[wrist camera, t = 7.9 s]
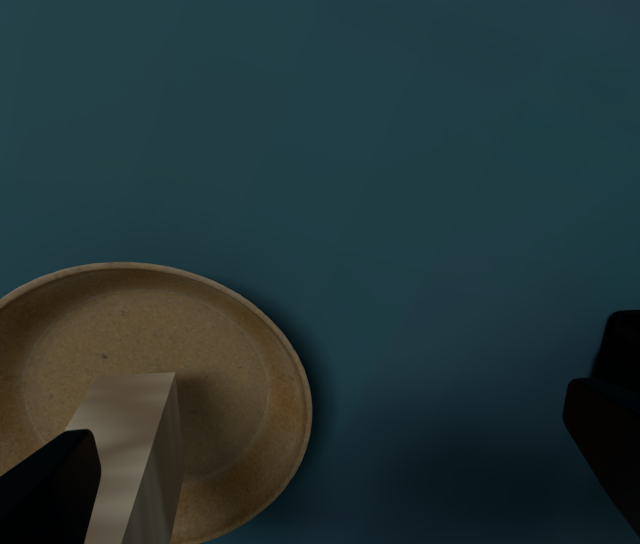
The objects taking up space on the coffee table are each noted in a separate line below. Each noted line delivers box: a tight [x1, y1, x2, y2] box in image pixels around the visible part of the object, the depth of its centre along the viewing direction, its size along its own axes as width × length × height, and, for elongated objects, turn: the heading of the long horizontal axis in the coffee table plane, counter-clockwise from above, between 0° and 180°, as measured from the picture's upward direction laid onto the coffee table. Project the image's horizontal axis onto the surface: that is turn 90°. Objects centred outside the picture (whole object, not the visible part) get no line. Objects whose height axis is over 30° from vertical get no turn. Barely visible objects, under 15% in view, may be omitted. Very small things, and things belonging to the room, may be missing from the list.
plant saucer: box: [0, 262, 312, 544], centre depth 20 cm, size 15×15×3 cm
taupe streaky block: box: [64, 372, 185, 544], centre depth 15 cm, size 3×5×8 cm, turn 179°
